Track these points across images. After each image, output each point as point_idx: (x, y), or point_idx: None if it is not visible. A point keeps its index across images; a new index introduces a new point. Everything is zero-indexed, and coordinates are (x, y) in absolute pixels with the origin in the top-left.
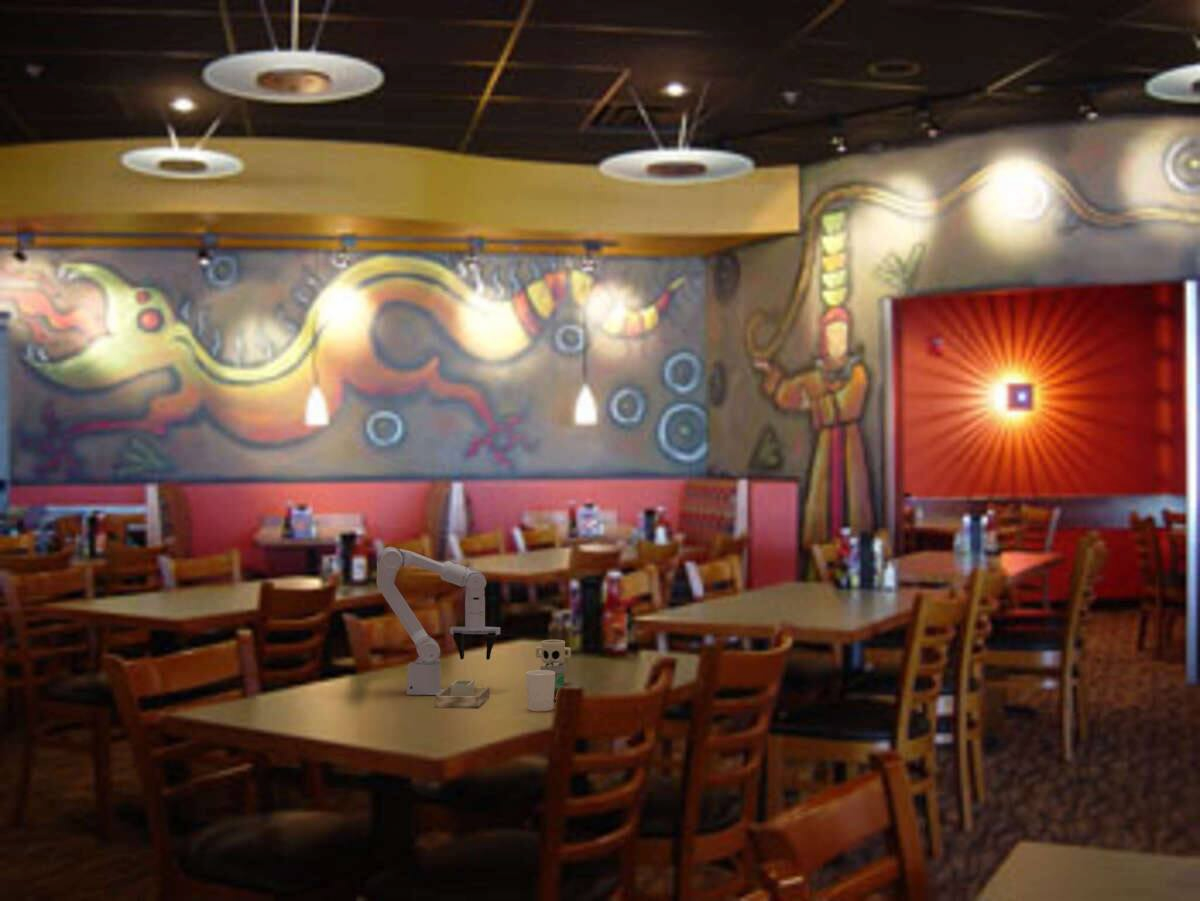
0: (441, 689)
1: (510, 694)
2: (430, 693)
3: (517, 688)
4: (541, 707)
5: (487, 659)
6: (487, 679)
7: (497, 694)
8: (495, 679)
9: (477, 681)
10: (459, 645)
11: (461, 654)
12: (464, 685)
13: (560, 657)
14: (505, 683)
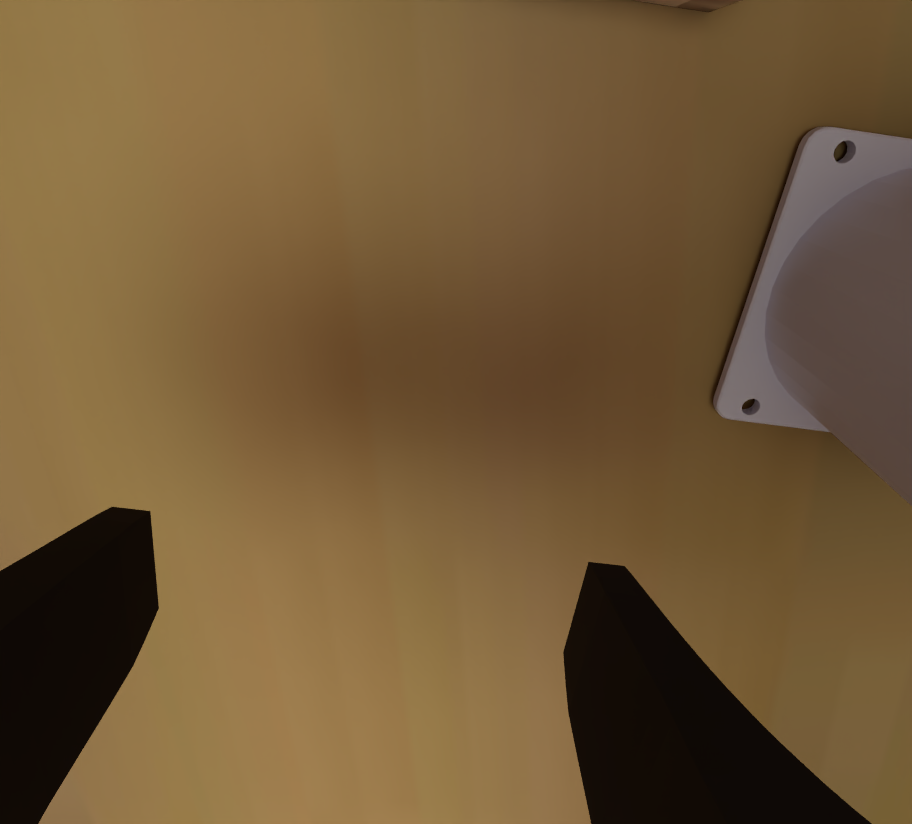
0: (748, 386)
1: (12, 186)
2: (908, 140)
3: (51, 505)
4: None
5: (126, 508)
6: (369, 821)
7: (153, 192)
8: (314, 819)
9: (432, 768)
10: (752, 774)
11: (630, 612)
12: None
13: None
14: (211, 698)
